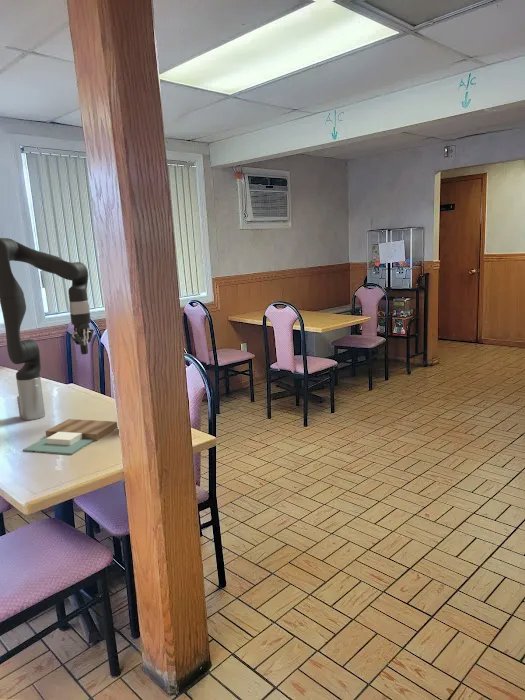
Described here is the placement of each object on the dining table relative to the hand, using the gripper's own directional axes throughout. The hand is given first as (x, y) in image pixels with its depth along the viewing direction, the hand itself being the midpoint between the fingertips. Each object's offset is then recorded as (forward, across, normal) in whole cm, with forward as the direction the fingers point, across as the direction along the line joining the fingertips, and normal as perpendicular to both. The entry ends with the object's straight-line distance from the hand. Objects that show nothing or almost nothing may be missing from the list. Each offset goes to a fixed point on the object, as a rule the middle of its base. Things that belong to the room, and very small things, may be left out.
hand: (84, 354), depth 213 cm
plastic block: (+25, +29, +8) cm, 39 cm away
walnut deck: (+27, +18, +8) cm, 33 cm away
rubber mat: (+27, +32, +8) cm, 43 cm away
